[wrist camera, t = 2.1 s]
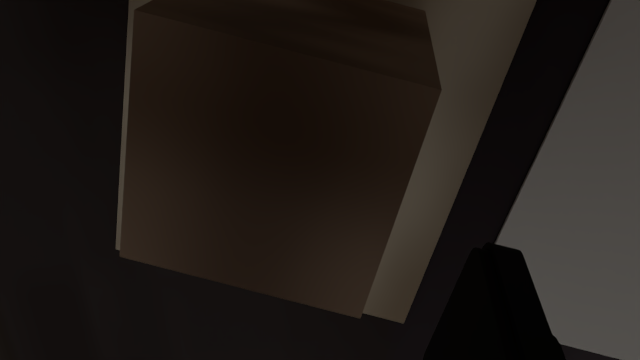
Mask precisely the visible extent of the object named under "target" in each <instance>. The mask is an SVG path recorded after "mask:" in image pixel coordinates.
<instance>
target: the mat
mask: <svg viewBox="0 0 640 360" xmlns="http://www.w3.org/2000/svg"><path fill="white" fill-rule="evenodd" d="M494 244H498V245H502V246H506V247H510V248H514V249H518V250H520V251H521V252H522V254H523V256H524V259H525V261H526V264H527V267H528V270H529V272H530V275H531V278H532V280H533V283H534V286H535V289H536V291H537V294H538V297H539V300H540V302H541V305H542V308H543V311H544V313H545V316H546V319H547V321H548V324H549V327H550V330H551V332H552V335H553V336H555V337H556V338H557V340H558V342H559V343H560V344H563V345H567V346H570V347H574V348H578V349H582V350H586V351H590V352H594V353H598V354H601V355H605V356H609V357H613V358H617V359H621V360H640V0H610V1H609V3H608V5H607V7H606V10H605V12H604V14H603V16H602V18H601V20H600V22H599V24H598V26H597V28H596V31H595V33H594V35H593V37H592V39H591V41H590V43H589V45H588V47H587V49H586V52H585V54H584V56H583V58H582V60H581V62H580V64H579V66H578V68H577V71H576V73H575V75H574V77H573V79H572V81H571V83H570V85H569V87H568V89H567V92H566V94H565V96H564V98H563V100H562V102H561V104H560V106H559V108H558V110H557V113H556V115H555V117H554V119H553V121H552V123H551V125H550V127H549V129H548V131H547V134H546V136H545V138H544V140H543V142H542V144H541V146H540V148H539V150H538V152H537V155H536V157H535V159H534V161H533V163H532V165H531V167H530V169H529V171H528V173H527V176H526V178H525V180H524V182H523V184H522V186H521V188H520V190H519V192H518V194H517V197H516V199H515V201H514V203H513V205H512V207H511V209H510V211H509V213H508V216H507V218H506V220H505V222H504V224H503V226H502V228H501V230H500V232H499V234H498V237H497V239H496V241H495V243H494Z"/></svg>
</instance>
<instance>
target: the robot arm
mask: <svg viewBox="0 0 640 360" xmlns="http://www.w3.org/2000/svg"><path fill="white" fill-rule="evenodd" d="M423 360H566V359H565V356H564V353H563V351H562V348H561V345H560V343H559V342H558V340H557V338H556V337H555V336H553V335H552V332H551V330H550V327H549V324H548V321H547V319H546V316H545V313H544V311H543V308H542V305H541V302H540V300H539V297H538V294H537V291H536V289H535V286H534V283H533V280H532V278H531V275H530V272H529V270H528V267H527V264H526V261H525V259H524V256H523V254H522V252H521V251H520V250H518V249H514V248H510V247H506V246H502V245H498V244H493V243H486V244H485V245H484V246H483V248H482V249H480V248H473V250H472V251H471V253H470V254H469V257H468V259H467V261H466V263H465V265H464V268H463V270H462V272H461V274H460V277H459V279H458V281H457V283H456V285H455V288H454V290H453V292H452V294H451V296H450V299H449V301H448V303H447V305H446V307H445V310H444V312H443V314H442V316H441V318H440V321H439V323H438V325H437V327H436V330H435V332H434V334H433V336H432V338H431V341H430V343H429V345H428V347H427V349H426V352H425V354H424V358H423Z"/></svg>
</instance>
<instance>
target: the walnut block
mask: <svg viewBox="0 0 640 360" xmlns="http://www.w3.org/2000/svg"><path fill="white" fill-rule="evenodd" d="M441 91H442V88H441V84H440V79H439V74H438V70H437V65H436V60H435V55H434V51H433V46H432V41H431V36H430V32H429V27H428V22H427V17H426V13H425V11H424V10H420V9H416V8H413V7H409V6H405V5H401V4H397V3H394V2H390V1H386V0H152V1H150V2H148V3H146V4H144V5H142V6H140V7H138V8H136V9H135V10H134V19H133V36H132V53H131V70H130V87H129V104H128V121H127V138H126V155H125V172H124V189H123V206H122V223H121V240H120V257H123V258H127V259H131V260H135V261H139V262H143V263H147V264H150V265H154V266H158V267H162V268H166V269H170V270H174V271H178V272H181V273H185V274H189V275H193V276H197V277H201V278H205V279H209V280H212V281H216V282H220V283H224V284H228V285H232V286H236V287H240V288H243V289H247V290H251V291H255V292H259V293H263V294H267V295H271V296H275V297H278V298H282V299H286V300H290V301H294V302H298V303H302V304H306V305H309V306H313V307H317V308H321V309H325V310H329V311H333V312H337V313H340V314H344V315H348V316H352V317H356V318H361V315H362V312H363V310H364V307H365V304H366V301H367V298H368V296H369V293H370V290H371V287H372V284H373V282H374V279H375V276H376V273H377V270H378V268H379V265H380V262H381V259H382V256H383V254H384V251H385V248H386V245H387V242H388V240H389V237H390V234H391V231H392V228H393V226H394V223H395V220H396V217H397V214H398V211H399V209H400V206H401V203H402V200H403V197H404V195H405V192H406V189H407V186H408V183H409V181H410V178H411V175H412V172H413V169H414V167H415V164H416V161H417V158H418V155H419V153H420V150H421V147H422V144H423V141H424V139H425V136H426V133H427V130H428V127H429V125H430V122H431V119H432V116H433V113H434V110H435V108H436V105H437V102H438V99H439V96H440V94H441Z"/></svg>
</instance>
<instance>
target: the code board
mask: <svg viewBox="0 0 640 360" xmlns="http://www.w3.org/2000/svg"><path fill="white" fill-rule="evenodd" d="M150 1H152V0H129V10H128V29H127V47H126V66H125V84H124V103H123V121H122V140H121V158H120V177H119V195H118V214H117V232H116V249H117V250H120V240H121V223H122V206H123V189H124V172H125V155H126V138H127V121H128V104H129V87H130V70H131V53H132V36H133V19H134V10H135V9H136V8H138V7H140V6H142V5H144V4H146V3H148V2H150ZM386 1H390V2H394V3H397V4H401V5H405V6H409V7H413V8H416V9H420V10H424V11H425V13H426V17H427V22H428V27H429V32H430V36H431V41H432V46H433V51H434V55H435V60H436V65H437V70H438V74H439V79H440V84H441V88H442V91H441V94H440V96H439V99H438V102H437V105H436V108H435V110H434V113H433V116H432V119H431V122H430V125H429V127H428V130H427V133H426V136H425V139H424V141H423V144H422V147H421V150H420V153H419V155H418V158H417V161H416V164H415V167H414V169H413V172H412V175H411V178H410V181H409V183H408V186H407V189H406V192H405V195H404V197H403V200H402V203H401V206H400V209H399V211H398V214H397V217H396V220H395V223H394V226H393V228H392V231H391V234H390V237H389V240H388V242H387V245H386V248H385V251H384V254H383V256H382V259H381V262H380V265H379V268H378V270H377V273H376V276H375V279H374V282H373V284H372V287H371V290H370V293H369V296H368V298H367V301H366V304H365V307H364V310H363V312H362V313H365V314H369V315H373V316H377V317H380V318H384V319H388V320H392V321H396V322H400V323H404V321H405V319H406V317H407V314H408V312H409V309H410V307H411V304H412V302H413V300H414V297H415V295H416V292H417V290H418V287H419V285H420V283H421V280H422V278H423V275H424V273H425V270H426V268H427V266H428V263H429V261H430V258H431V256H432V253H433V251H434V249H435V246H436V244H437V241H438V239H439V236H440V234H441V232H442V229H443V227H444V224H445V222H446V219H447V217H448V215H449V212H450V210H451V207H452V205H453V202H454V200H455V198H456V195H457V193H458V190H459V188H460V185H461V183H462V181H463V178H464V176H465V173H466V171H467V168H468V166H469V164H470V161H471V159H472V156H473V154H474V151H475V149H476V147H477V144H478V142H479V139H480V137H481V134H482V132H483V130H484V127H485V125H486V122H487V120H488V117H489V115H490V113H491V110H492V108H493V105H494V103H495V100H496V98H497V96H498V93H499V91H500V88H501V86H502V83H503V81H504V79H505V76H506V74H507V71H508V69H509V66H510V64H511V62H512V59H513V57H514V54H515V52H516V49H517V47H518V45H519V42H520V40H521V37H522V35H523V32H524V30H525V28H526V25H527V23H528V20H529V18H530V15H531V13H532V11H533V8H534V6H535V3H536V1H537V0H386Z"/></svg>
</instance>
